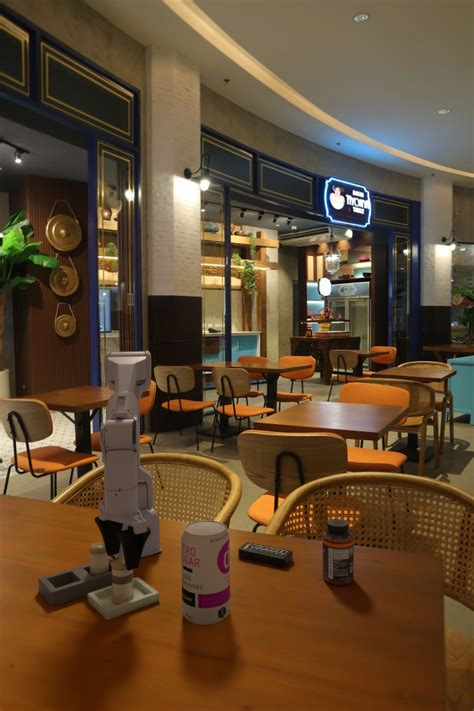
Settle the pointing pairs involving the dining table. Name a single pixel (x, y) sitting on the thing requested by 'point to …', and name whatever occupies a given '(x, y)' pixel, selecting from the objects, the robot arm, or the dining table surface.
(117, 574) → the fuse
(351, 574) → the supplement bottle
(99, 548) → the cylinder
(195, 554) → the supplement can
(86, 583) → the block
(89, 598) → the parts tray
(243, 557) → the multiport hub
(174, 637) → the dining table surface
